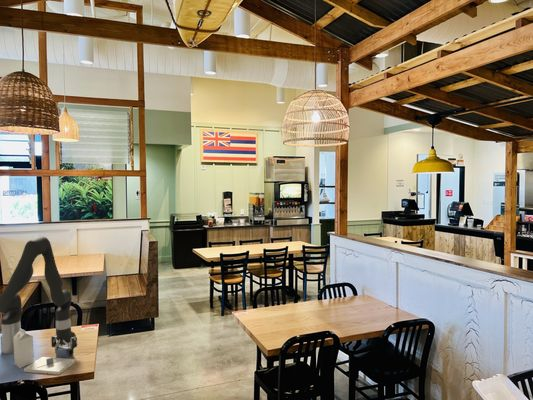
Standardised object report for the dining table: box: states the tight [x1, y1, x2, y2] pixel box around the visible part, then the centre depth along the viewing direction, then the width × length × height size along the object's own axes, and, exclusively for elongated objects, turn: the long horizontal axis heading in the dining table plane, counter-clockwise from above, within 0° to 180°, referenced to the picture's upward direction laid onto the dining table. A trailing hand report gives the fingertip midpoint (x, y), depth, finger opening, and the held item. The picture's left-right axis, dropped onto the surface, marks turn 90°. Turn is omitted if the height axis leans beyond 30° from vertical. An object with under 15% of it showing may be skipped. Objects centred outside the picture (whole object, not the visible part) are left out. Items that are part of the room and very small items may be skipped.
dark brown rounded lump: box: [71, 330, 78, 339], centre depth 232 cm, size 12×10×8 cm
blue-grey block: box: [55, 345, 71, 359], centre depth 215 cm, size 6×6×5 cm
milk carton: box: [13, 328, 35, 369], centre depth 206 cm, size 7×7×19 cm
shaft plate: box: [23, 356, 76, 375], centre depth 203 cm, size 20×13×5 cm, turn 81°
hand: (64, 354), depth 215 cm, fingers open, 8 cm apart
